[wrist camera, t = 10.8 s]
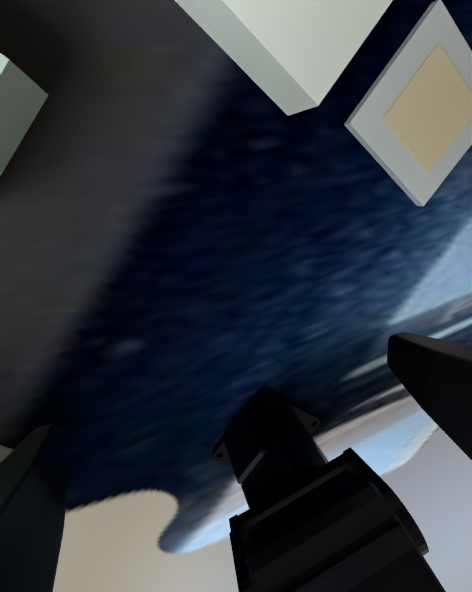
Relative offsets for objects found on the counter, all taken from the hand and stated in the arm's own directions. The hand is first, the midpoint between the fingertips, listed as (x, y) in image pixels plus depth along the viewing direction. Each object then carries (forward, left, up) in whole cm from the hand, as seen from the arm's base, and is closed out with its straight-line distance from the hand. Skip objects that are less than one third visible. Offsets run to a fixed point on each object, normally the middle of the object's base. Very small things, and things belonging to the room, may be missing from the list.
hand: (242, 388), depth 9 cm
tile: (-7, -16, -13) cm, 22 cm away
